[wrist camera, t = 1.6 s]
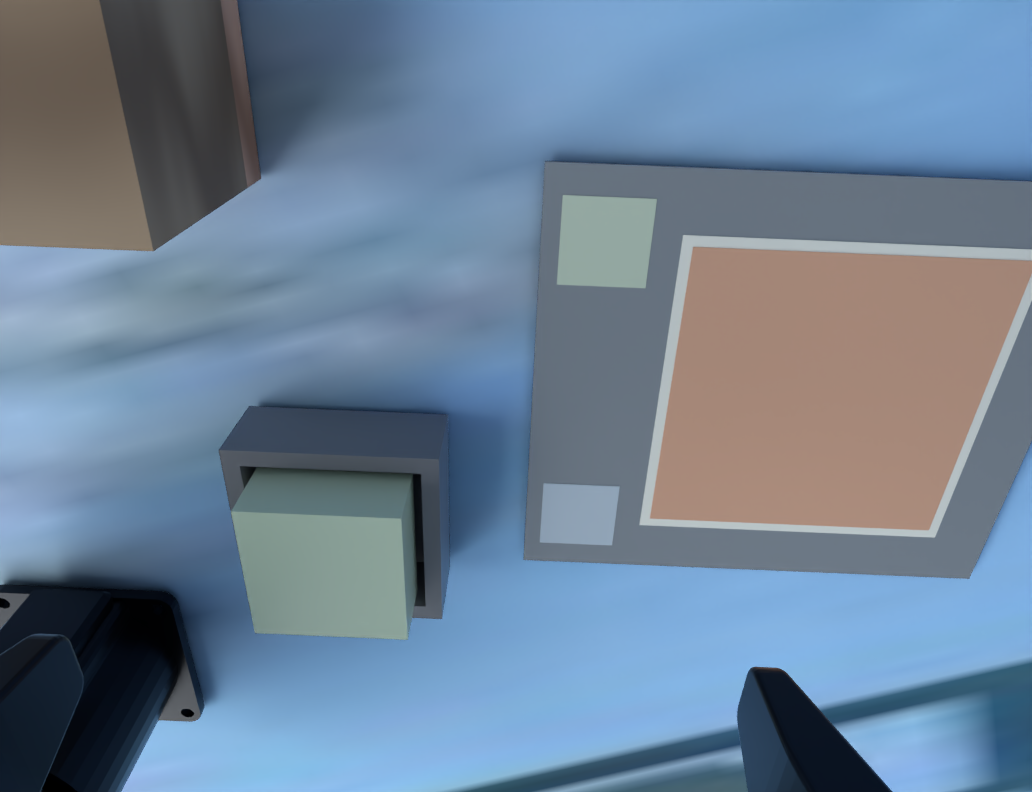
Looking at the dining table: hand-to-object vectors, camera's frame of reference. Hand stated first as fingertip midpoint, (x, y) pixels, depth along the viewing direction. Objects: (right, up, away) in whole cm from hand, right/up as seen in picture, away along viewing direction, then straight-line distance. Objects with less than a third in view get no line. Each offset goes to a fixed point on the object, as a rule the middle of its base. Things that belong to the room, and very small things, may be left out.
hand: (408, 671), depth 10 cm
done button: (-4, 0, +12) cm, 12 cm away
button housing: (-4, +1, +14) cm, 14 cm away
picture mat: (+9, +4, +12) cm, 15 cm away
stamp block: (-7, +11, +8) cm, 16 cm away
